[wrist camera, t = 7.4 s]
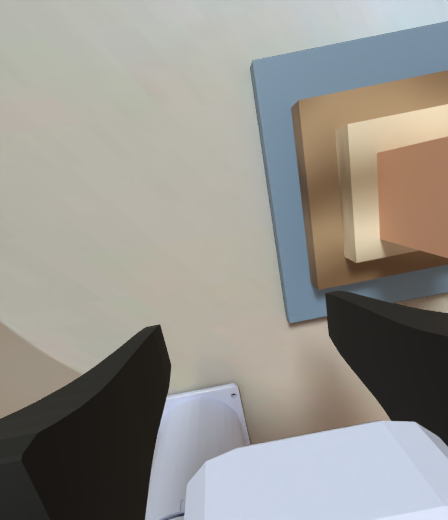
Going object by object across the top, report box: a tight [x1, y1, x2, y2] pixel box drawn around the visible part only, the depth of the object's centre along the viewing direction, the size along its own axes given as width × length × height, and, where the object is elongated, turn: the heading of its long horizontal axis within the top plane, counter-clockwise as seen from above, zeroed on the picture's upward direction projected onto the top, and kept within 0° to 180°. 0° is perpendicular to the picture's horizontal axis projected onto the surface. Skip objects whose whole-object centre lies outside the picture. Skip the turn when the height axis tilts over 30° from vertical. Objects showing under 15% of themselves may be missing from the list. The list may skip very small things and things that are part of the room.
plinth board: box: [250, 21, 448, 323], centre depth 17 cm, size 18×16×4 cm
